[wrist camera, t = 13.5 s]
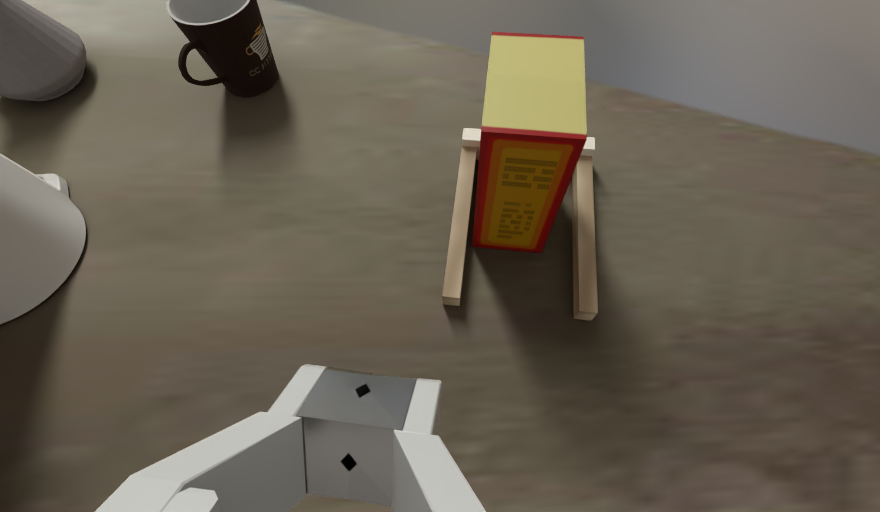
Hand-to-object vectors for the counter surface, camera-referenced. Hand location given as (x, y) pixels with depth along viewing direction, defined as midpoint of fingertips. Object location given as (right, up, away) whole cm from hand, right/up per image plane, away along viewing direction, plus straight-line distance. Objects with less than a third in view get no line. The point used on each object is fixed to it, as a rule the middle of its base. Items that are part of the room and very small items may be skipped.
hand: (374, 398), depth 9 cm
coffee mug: (-23, +24, +43) cm, 54 cm away
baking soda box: (+8, +8, +34) cm, 36 cm away
